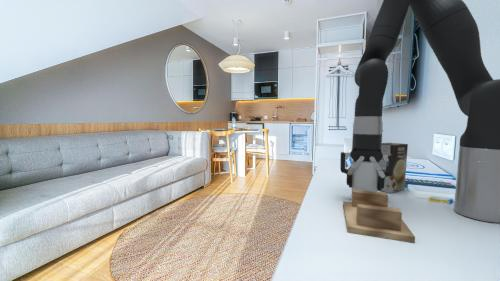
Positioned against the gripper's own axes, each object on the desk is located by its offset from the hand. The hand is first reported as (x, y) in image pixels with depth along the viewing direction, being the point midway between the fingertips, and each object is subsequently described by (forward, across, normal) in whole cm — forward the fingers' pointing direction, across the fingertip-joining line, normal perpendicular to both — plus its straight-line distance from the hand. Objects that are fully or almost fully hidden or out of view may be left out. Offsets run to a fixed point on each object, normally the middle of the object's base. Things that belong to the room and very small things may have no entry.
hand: (364, 188), depth 65 cm
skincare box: (+4, 0, 0) cm, 4 cm away
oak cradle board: (+4, 0, +14) cm, 15 cm away
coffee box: (+4, -10, -16) cm, 19 cm away
